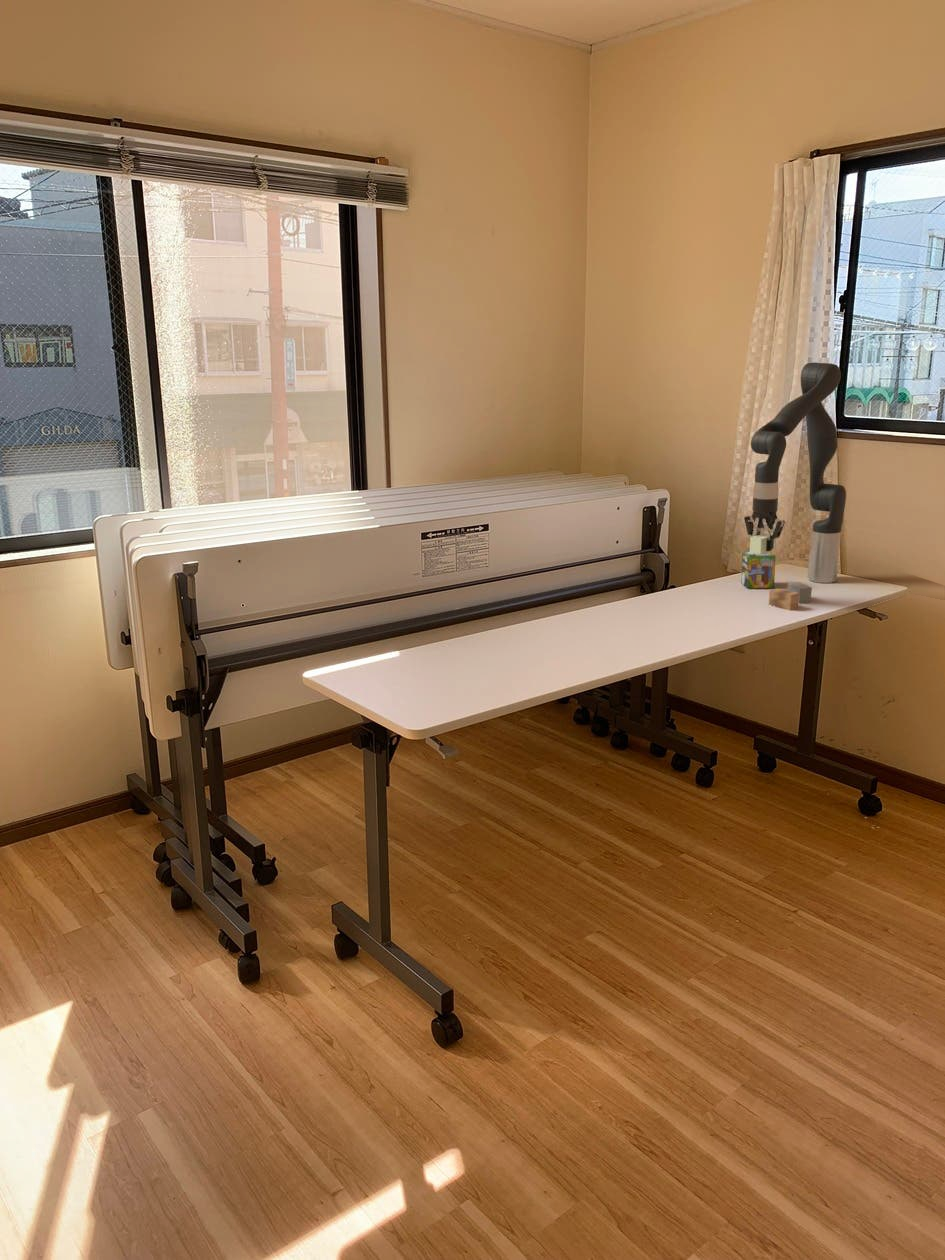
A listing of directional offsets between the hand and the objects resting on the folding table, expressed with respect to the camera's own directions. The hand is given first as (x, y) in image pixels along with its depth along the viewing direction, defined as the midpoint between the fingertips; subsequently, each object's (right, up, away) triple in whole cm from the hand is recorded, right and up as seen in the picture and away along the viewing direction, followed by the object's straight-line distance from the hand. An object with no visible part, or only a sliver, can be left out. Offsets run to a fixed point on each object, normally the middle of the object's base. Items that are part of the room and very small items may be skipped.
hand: (762, 549), depth 311 cm
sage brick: (0, -1, 0) cm, 1 cm away
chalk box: (+5, -11, +23) cm, 26 cm away
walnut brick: (+5, -18, -4) cm, 19 cm away
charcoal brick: (+13, -16, +4) cm, 21 cm away
